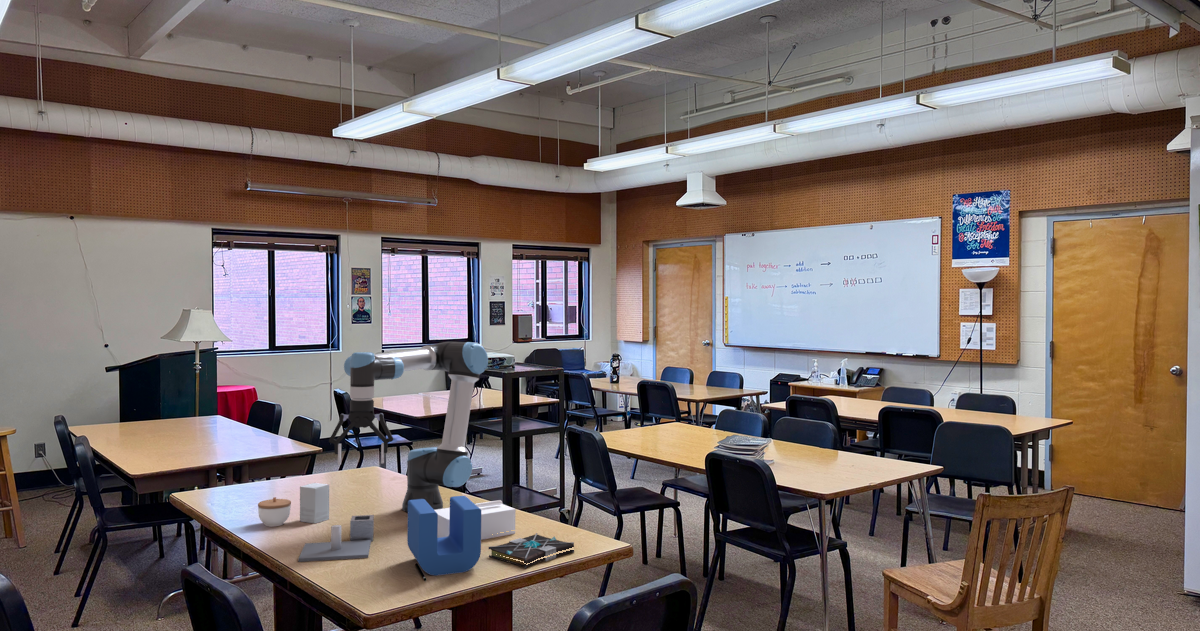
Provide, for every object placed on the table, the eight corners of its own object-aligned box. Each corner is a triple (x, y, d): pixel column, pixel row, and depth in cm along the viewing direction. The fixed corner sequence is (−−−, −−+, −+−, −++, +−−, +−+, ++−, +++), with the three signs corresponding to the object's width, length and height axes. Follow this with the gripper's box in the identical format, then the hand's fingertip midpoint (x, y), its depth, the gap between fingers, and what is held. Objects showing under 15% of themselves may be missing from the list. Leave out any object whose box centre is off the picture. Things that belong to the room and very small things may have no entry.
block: (418, 577, 222) (419, 514, 222) (407, 559, 239) (407, 500, 239) (480, 570, 230) (481, 508, 230) (465, 553, 246) (466, 495, 246)
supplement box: (329, 519, 284) (330, 484, 284) (314, 524, 278) (314, 488, 278) (314, 516, 288) (314, 482, 288) (298, 521, 281) (299, 486, 281)
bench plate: (370, 543, 255) (371, 518, 255) (368, 557, 240) (368, 531, 240) (305, 546, 251) (305, 521, 251) (298, 561, 235) (298, 534, 235)
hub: (373, 535, 264) (373, 514, 264) (372, 541, 257) (372, 520, 257) (351, 536, 262) (352, 515, 262) (350, 542, 255) (350, 521, 255)
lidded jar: (278, 529, 270) (279, 501, 270) (251, 527, 272) (251, 500, 272) (296, 521, 281) (297, 495, 281) (269, 519, 283) (270, 493, 283)
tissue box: (428, 536, 265) (429, 503, 265) (494, 525, 280) (494, 494, 280) (448, 546, 254) (448, 512, 254) (515, 534, 269) (515, 502, 269)
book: (525, 570, 231) (526, 553, 231) (487, 558, 242) (487, 542, 242) (575, 553, 248) (575, 537, 248) (536, 543, 259) (536, 528, 259)
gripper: (401, 397, 266) (400, 460, 266) (323, 398, 261) (322, 462, 261) (400, 399, 259) (399, 464, 259) (320, 400, 254) (319, 466, 253)
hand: (361, 463), depth 260 cm, fingers open, 13 cm apart
